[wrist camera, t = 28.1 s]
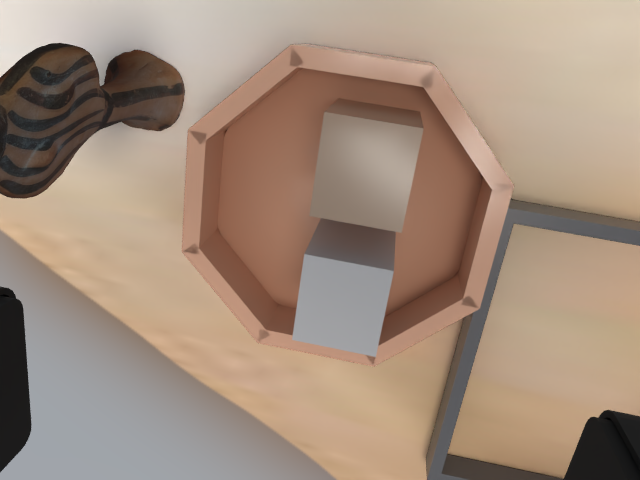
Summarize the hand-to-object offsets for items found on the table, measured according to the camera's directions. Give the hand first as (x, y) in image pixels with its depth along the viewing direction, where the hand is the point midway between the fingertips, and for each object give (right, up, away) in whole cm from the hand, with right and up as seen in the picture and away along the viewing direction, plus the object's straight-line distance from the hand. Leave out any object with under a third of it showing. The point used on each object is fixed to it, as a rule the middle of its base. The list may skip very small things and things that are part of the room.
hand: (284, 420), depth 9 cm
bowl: (+2, +5, +24) cm, 25 cm away
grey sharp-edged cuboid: (+3, +2, +24) cm, 25 cm away
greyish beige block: (+3, +8, +22) cm, 24 cm away
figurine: (-10, +12, +24) cm, 28 cm away
